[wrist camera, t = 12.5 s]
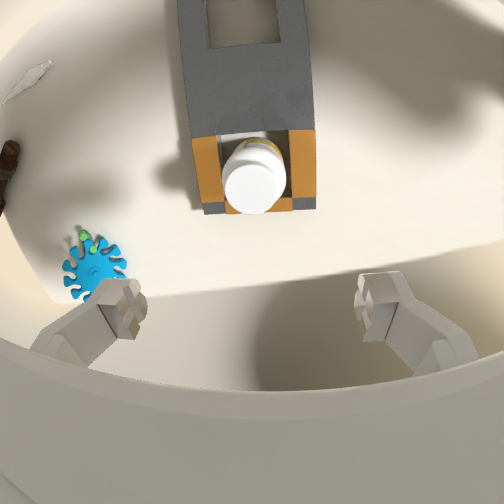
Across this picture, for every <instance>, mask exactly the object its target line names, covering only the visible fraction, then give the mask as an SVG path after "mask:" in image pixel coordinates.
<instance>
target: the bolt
mask: <svg viewBox="0 0 504 504" xmlns="http://www.w3.org/2000/svg"><path fill="white" fill-rule="evenodd" d="M19 151H20V148H19V145H18V143H17V142H15V141H13V140H8V141H6V142H5V143H4V146H3V149H2V151H1V154H0V216H1V214H2V212H3V209H4V206H5V202H4V201H3V199H2V197H3V194H4V190H5V187H6V184H7V182H8V179H11V177H12V175H13V174H14V172H15V169H16V167H17V163H16V161H15V160H16V158H17V155H18V153H19Z"/></svg>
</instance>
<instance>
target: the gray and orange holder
mask: <svg viewBox="0 0 504 504" xmlns="http://www.w3.org/2000/svg"><path fill="white" fill-rule="evenodd" d="M275 1H276V9H277V17H278V25H279V33H280V42H281V43H262V44H249V45H239V46H231V47H224V48H217V49H211V47H210V37H209V27H208V17H207V6H206V0H177V8H178V21H179V33H180V44H181V54H182V63H183V72H184V81H185V89H186V98H187V105H188V113H189V120H190V128H191V135H192V139H191V141H192V147H193V154H194V160H195V167H196V173H197V179H198V185H199V191H200V197H201V202H202V203H203V209H204V215H208V214H222V213H226V214H241V212H239V211H237V210H236V209H234V208H233V207H232V206H231V205H230V204H229V202H228V201H227V198H226V196H225V190H224V188H223V184H222V172H223V168H224V160H223V152H222V144H221V136H220V135H224V134H233V133H244V132H257V131H274V130H288V140H289V159H290V182H291V190H286V191H283V193H282V195H281V196H280V197H279V199H278V200H277V201H275V203H274V204H273V205H272V207H271V208H269V209H268V210H267V211H265V212H282V211H293V210H306V209H316V136H315V122H314V103H313V87H312V74H311V63H310V52H309V43H308V34H307V25H306V18H305V10H304V3H303V0H275Z"/></svg>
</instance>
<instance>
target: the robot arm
mask: <svg viewBox="0 0 504 504" xmlns="http://www.w3.org/2000/svg"><path fill="white" fill-rule="evenodd" d="M358 287H359V290H358V291H357V292H356V294H355V300H354V309H355V315H356V318H357V319H358V320H359V321H360V325H359V330H360V334H361V338H362V342H371V341H383V340H385V342H386V343H387V344H388V345H389V346H390V347H391V348H392V349H393V350H394V352H396V354H397V355H398V356H400V358H401V359H402V360H403V361H404V362H405V363H406V364H407V365H408V366H409V367H410V368H411V369H412V370H413V371H414V372H415V373H414V374H413V376H412V377H411V378H407V379H402V380H396V381H391V382H385V383H378V384H372V385H364V386H356V387H347V388H337V389H326V390H312V391H285V392H254V391H253V392H251V391H228V390H227V391H226V390H213V389H201V388H192V387H183V386H175V385H167V384H161V383H154V382H148V381H142V380H136V379H132V378H127V377H122V376H117V375H113V374H108V373H104V372H100V371H96V370H92V369H89V368H88V366H89V365H90V364H91V363H92V362H93V361H94V360H95V359H96V358H97V357H99V356H100V355H101V353H103V352H104V351H105V350H106V349H107V348H108V347H109V346H110V345H112V344H113V342H115V341H116V340H117V338H120V339H130V340H135V338H136V335H137V333H138V331H139V329H140V325H139V323H140V322H141V321H142V320H144V319H145V317H146V314H147V301H146V298H145V296H144V295H143V294H142V293H141V292H140V289H141V286H140V284H139V282H138V280H136V279H125V278H105V279H102V281H101V282H100V283H99V285H98V286H97V287H96V289H95V290H94V292H93V293H92V294H91V296H90V297H89V299H88V300H87V301H86V303H82V304H80V305H79V306H77V307H76V308H74V309H73V310H71V311H69V312H68V313H66V314H65V315H63V316H62V317H60V318H59V319H57V320H56V321H54V322H53V323H51V324H50V325H48V326H47V327H45V328H44V329H42V330H41V332H40V333H39V335H38V336H37V338H36V339H35V341H34V343H33V344H32V346H31V347H30V349H26V348H24V347H21V346H19V345H16V344H14V343H11V342H9V341H7V340H4V339H2V338H0V504H504V351H501V352H499V353H496V354H493V355H491V356H488V357H485V358H482V359H480V358H479V356H478V354H477V352H476V349H475V347H474V345H473V343H472V341H471V339H470V337H469V335H468V334H467V332H465V331H464V330H463V329H461V328H460V327H458V326H457V325H455V324H454V323H453V322H451V321H450V320H448V319H447V318H445V317H444V316H442V315H441V314H439V313H438V312H436V311H435V310H434V309H432V308H431V307H429V306H428V305H426V304H425V303H423V302H422V301H420V300H417V301H416V299H415V297H414V296H413V294H412V292H411V290H410V288H409V286H408V284H407V283H406V281H405V279H404V277H403V275H402V274H401V272H400V271H391V272H385V273H370V274H360V275H359V278H358Z"/></svg>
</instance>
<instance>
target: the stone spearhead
mask: <svg viewBox="0 0 504 504" xmlns="http://www.w3.org/2000/svg"><path fill="white" fill-rule="evenodd" d="M53 65H54V64H53V61H51V59H50V60H47V61H46V62H45V63H43V64H39V65H37V66H36V67H34V68H32V69H30V70H29V71H27V72H26V73H25V74H24V76H23V78H22V80H21V81H20V82H19V83H18V84H17V85H16V86H15V87H14V88H13V90H12V91H11V92H10V93H9V95H8V96H7V97H6V98H5V100H4V101H3V103H2V104H1V106H2V105H3V104H4V103H6V102H7V101H8V100H10V99H12V98H13V97H14V96H16V95H18V94H19V93H21V92H22V91H23V90H24V89H25V88H27V87H32V86H33V85H34V84H35V83H36V82H37V80H38V79H39V78H40V77H41V76H43V75H44V74H45V72H46V71H47V70H48V69H49V68H51V67H52V66H53Z"/></svg>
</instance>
